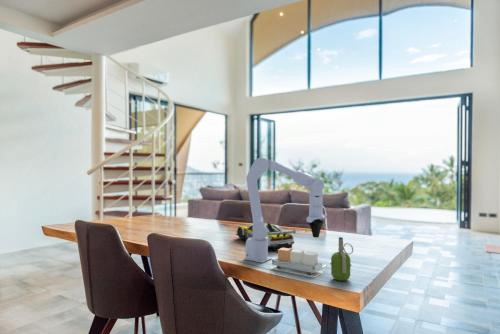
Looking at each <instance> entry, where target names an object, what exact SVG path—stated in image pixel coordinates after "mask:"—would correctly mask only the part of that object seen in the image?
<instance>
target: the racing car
mask: <svg viewBox="0 0 500 334" xmlns="http://www.w3.org/2000/svg"><path fill="white" fill-rule="evenodd" d="M264 224H265V225H266V229H267V236H266V237H268V249H270V248H271V249H272V251H278V249H280V248H289V249H292V248H293V245H294V244H295V238H294V237H293V234H296V232H297V230H296V229H292V230H284V231H282V230H281V229H280V228H279V227H278V226H277V225H274V224H273V223H269V222H266V223H265V222H264ZM252 228H253V225H250V226H249V225H247V226H246V225H240V226H238V227H237V230H236V231H235V233H236V234H235V235H236V236H237V237H238V238H239V240H244V241H247V239H248V238H251V237H252V236H253V233H252V232H253V230H252Z"/></svg>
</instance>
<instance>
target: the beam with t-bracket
mask: <svg viewBox="0 0 500 334" xmlns="http://www.w3.org/2000/svg"><path fill="white" fill-rule="evenodd" d="M271 265H272V266H277V268H279V269H280V267H286V268H291V269H296V270H301V271H306V272H307V274H308V275H311V273H316V272H317V271H322V269H323V268H322V266H323V263H322V262H318V264H317V265H316V266H314V267H312V266H307V265H301V264H296V263H291V262H285V261H280V260H278V256H277V257H275V258H273V259H271Z"/></svg>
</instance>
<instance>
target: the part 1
mask: <svg viewBox="0 0 500 334" xmlns="http://www.w3.org/2000/svg"><path fill="white" fill-rule="evenodd" d="M304 253H305V251H304V250H302V249H292V251H290V262H291V263H296V264H301V265H303V254H304Z"/></svg>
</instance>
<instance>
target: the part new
mask: <svg viewBox="0 0 500 334" xmlns="http://www.w3.org/2000/svg"><path fill="white" fill-rule="evenodd" d="M290 251H293V249H292V248H280V249H278V250H277V257H278V260H280V261H285V262H290Z"/></svg>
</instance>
